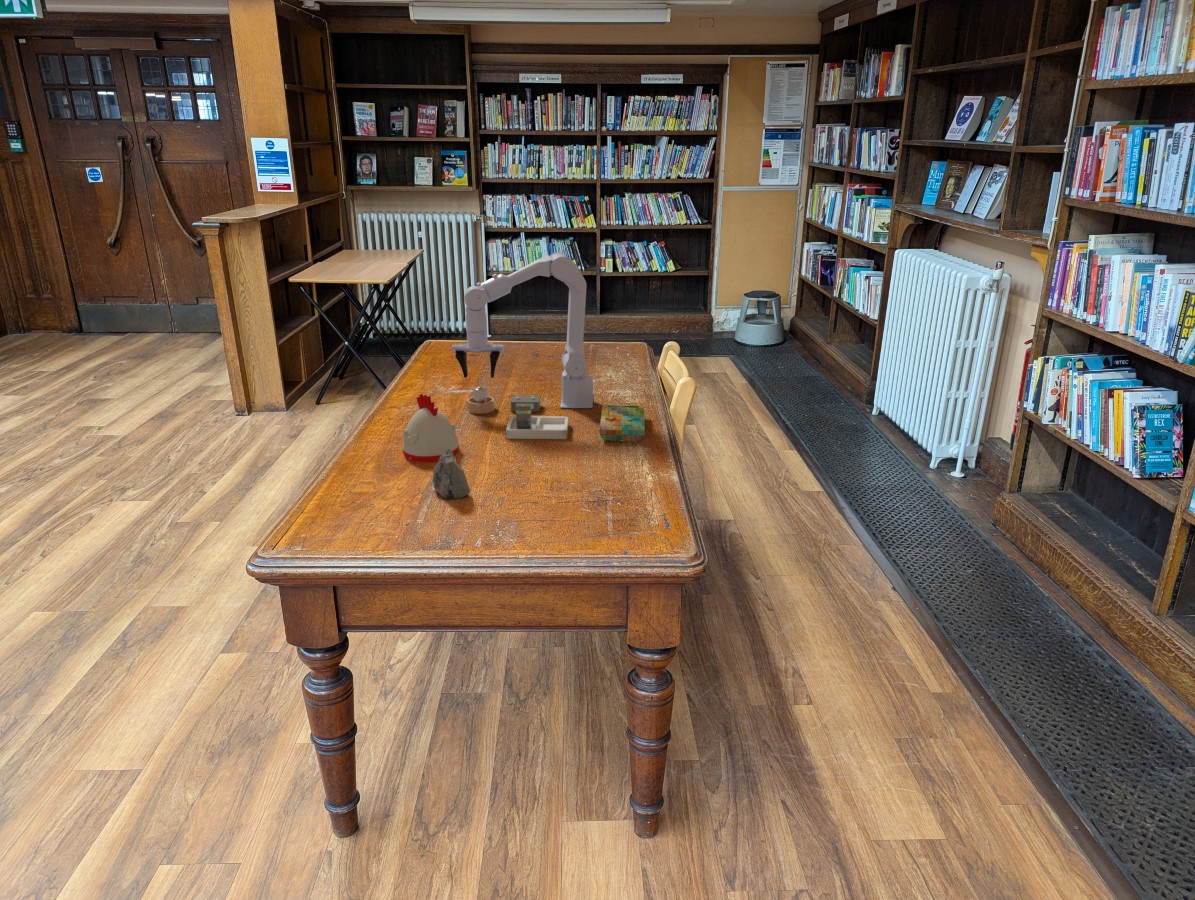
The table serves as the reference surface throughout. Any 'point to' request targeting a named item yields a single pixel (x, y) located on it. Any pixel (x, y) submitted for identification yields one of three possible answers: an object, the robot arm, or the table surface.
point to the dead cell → (480, 394)
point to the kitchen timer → (428, 433)
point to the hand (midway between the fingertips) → (479, 376)
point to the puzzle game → (622, 422)
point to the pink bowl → (480, 406)
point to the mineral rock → (450, 477)
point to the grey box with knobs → (526, 402)
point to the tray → (539, 428)
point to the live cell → (523, 416)
